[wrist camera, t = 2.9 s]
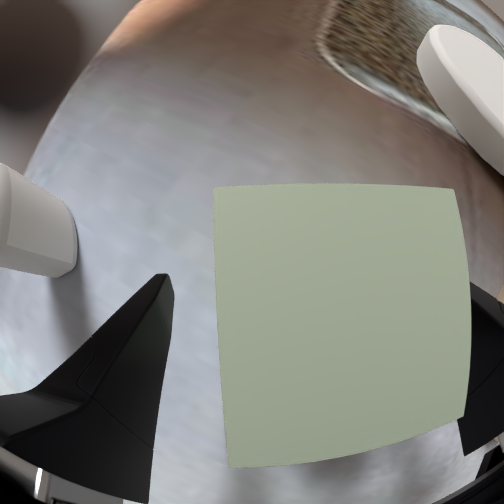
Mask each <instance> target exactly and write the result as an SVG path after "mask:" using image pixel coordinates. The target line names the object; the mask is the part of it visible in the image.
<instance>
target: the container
mask: <svg viewBox="0 0 504 504" xmlns="http://www.w3.org/2000/svg"><path fill="white" fill-rule="evenodd" d="M417 66H418V68H419V71H420V73H421V76H422V78H423V81H424V83H425V85H426V86H427V88H428V89H429V91H430V93H431V94H432V96H433V97H434V99H435V101H436V102H437V104H438V106H439V107H440V109H441V110H442V111H443V112H444V113H445V115H446V116H447V117H448V119H449V120H450V121H451V122H452V124H453V125H454V126H455V128H456V129H457V130H458V132H459V133H460V134H461V135H462V136H463V138H464V139H465V140H466V141H467V142H468V143H469V144H470V145H471V146H472V147H473V148H474V149H475V150H476V152H477V153H478V154H479V155H480V156H481V157H482V158H483V159H484V160H485V161H486V162H488V163H489V164H490V165H491V166H492V167H493V168H495V169H496V170H497V171H498V172H499V173H500V174H501V175H503V176H504V59H503V58H502V57H501V56H500V55H499V54H498V53H497V52H495V51H494V50H493V49H492V48H491V47H489V46H488V45H487V44H486V43H484V42H483V41H481V40H480V39H478V38H477V37H475V36H473V35H472V34H470V33H468V32H466V31H464V30H462V29H459V28H457V27H454V26H449V25H435V26H434V27H432V28H431V29H430V30H428V32H427V34H426V36H425V38H424V39H423V41H422V43H421V45H420V47H419V48H418V50H417Z"/></svg>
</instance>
